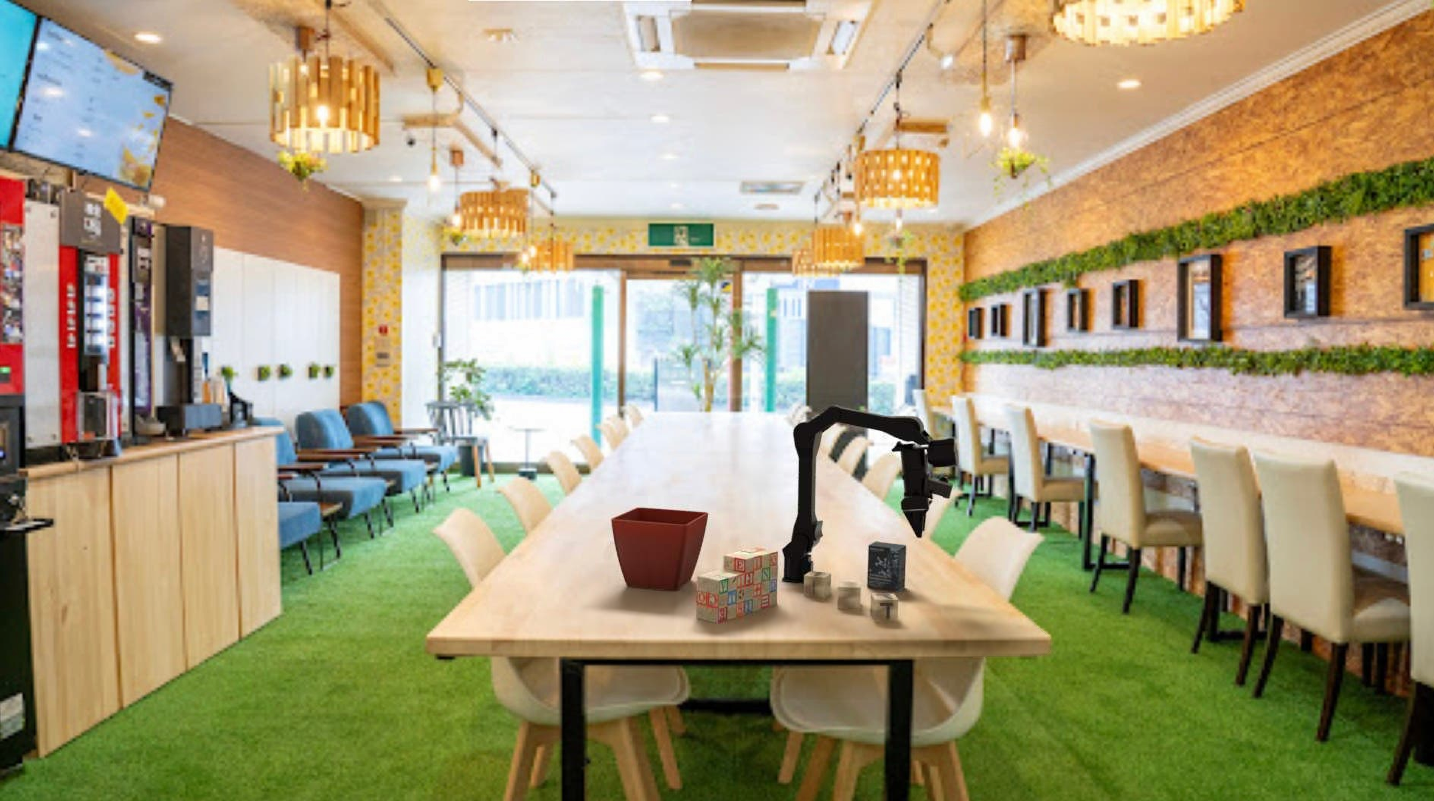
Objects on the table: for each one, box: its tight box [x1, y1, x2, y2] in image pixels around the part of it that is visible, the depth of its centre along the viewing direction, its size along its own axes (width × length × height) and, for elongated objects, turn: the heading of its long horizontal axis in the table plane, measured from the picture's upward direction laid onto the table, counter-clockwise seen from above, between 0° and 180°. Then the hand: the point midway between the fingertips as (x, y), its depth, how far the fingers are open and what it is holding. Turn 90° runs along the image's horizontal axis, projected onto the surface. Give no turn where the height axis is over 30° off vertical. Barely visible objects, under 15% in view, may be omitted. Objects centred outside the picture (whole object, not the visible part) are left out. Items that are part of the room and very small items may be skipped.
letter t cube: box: [869, 592, 899, 623], centre depth 205 cm, size 5×5×5 cm
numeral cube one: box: [803, 570, 832, 599], centre depth 224 cm, size 5×5×5 cm
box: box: [866, 540, 907, 593], centre depth 232 cm, size 8×6×11 cm
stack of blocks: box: [695, 547, 779, 624], centre depth 209 cm, size 21×6×12 cm, turn 141°
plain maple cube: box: [836, 580, 862, 611], centre depth 215 cm, size 5×5×5 cm
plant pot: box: [610, 506, 709, 592], centre depth 232 cm, size 19×19×17 cm
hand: (920, 534), depth 227 cm, fingers open, 9 cm apart
